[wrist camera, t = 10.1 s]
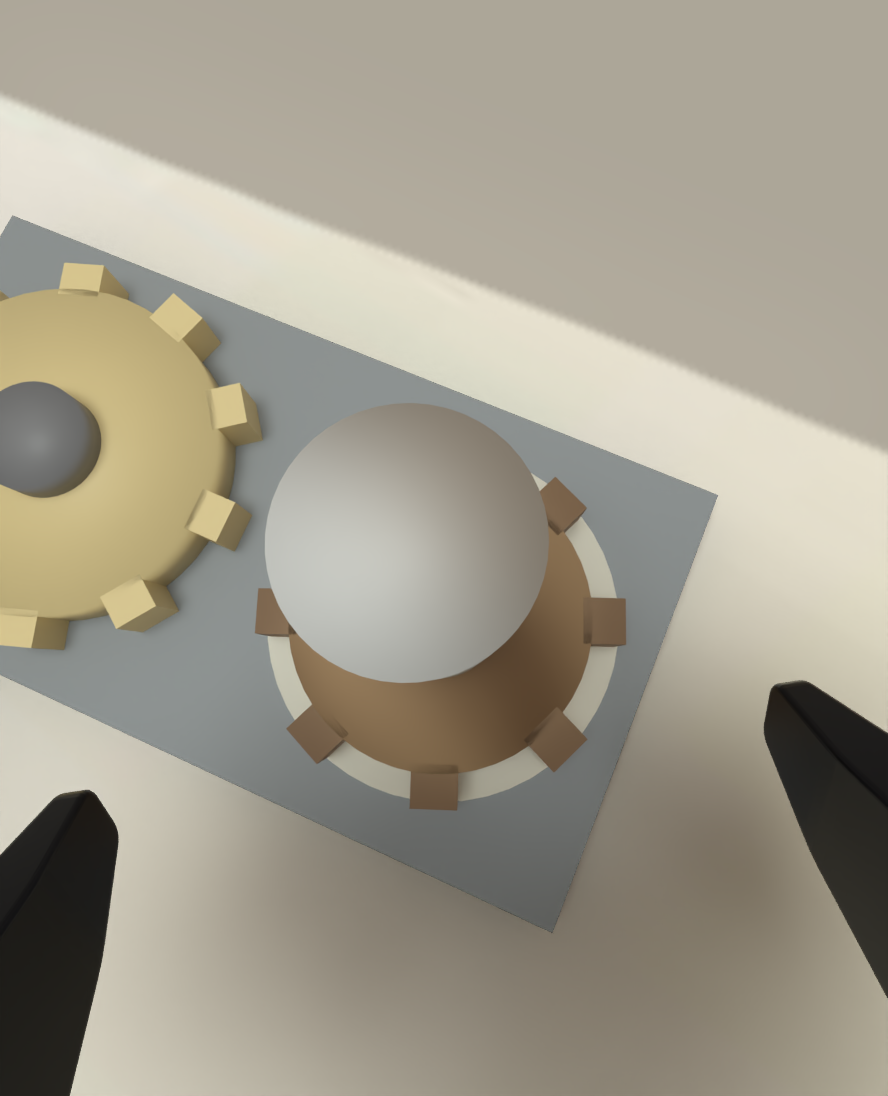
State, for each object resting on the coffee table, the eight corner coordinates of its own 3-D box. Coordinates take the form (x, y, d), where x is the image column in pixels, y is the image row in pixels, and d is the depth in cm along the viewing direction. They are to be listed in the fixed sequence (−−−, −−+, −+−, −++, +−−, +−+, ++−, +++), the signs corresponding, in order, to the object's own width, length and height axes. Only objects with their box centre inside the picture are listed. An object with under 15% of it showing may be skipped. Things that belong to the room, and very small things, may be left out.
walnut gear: (433, 876, 19) (377, 1241, 7) (203, 613, 21) (-186, 522, 8) (685, 627, 20) (1032, 554, 8) (448, 392, 22) (427, 14, 9)
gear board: (701, 507, 22) (753, 470, 18) (545, 914, 20) (565, 973, 16) (39, 243, 25) (-44, 158, 21) (-157, 587, 23) (-291, 568, 19)
